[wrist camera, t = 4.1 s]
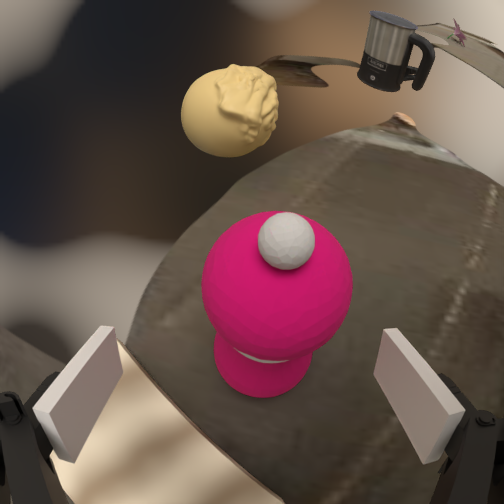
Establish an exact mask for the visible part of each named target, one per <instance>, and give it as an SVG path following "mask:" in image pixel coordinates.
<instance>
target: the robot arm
mask: <svg viewBox="0 0 504 504" xmlns="http://www.w3.org/2000/svg"><path fill="white" fill-rule="evenodd" d="M122 374H123V368H122V364H121V359H120V354H119V350H118V344H117V339H116V334H115V328H114V327H109V326H100V327H99V328H98V329H97V330H96V332H95V333H94V334H93V335H92V336H91V337H90V338H89V340H88V341H87V342H86V343H85V345H84V346H83V347H82V348H81V349H80V350H79V351H78V353H77V354H76V355H75V356H74V358H73V359H72V360H71V361H70V362H69V363H68V364H67V366H66V367H65V368H64V369H63V371H62V372H61V373H60V372H54V373H53V374H51V375H49V376H48V377H47V378H46V379H45V380H44V381H43V382H42V383H41V385H40V386H39V387H38V388H37V389H36V390H37V391H35V392H34V393H33V394H32V395H31V397H30V398H29V399H28V400H27V402H26V403H25V404H24V405H23V404H22V402H21V400H20V398H19V395H17V394H16V393H14V392H10V391H9V392H2V393H0V504H10V495H11V497H12V501H13V504H69V503H68V501H67V498H66V496H65V493H64V491H63V488H62V486H61V483H60V481H59V478H58V475H57V472H56V470H55V467H54V464H53V461H52V459H51V457H50V454H51V452H52V451H53V450H54V452H55V453H56V455H57V457H58V459H61V460H64V461H67V462H70V463H73V464H75V462H76V460H77V458H78V456H79V454H80V452H81V450H82V448H83V446H84V444H85V442H86V440H87V439H88V437H89V435H90V433H91V431H92V429H93V427H94V425H95V423H96V421H97V420H98V418H99V416H100V414H101V412H102V410H103V408H104V407H105V405H106V403H107V401H108V399H109V397H110V396H111V394H112V392H113V390H114V388H115V387H116V385H117V383H118V381H119V380H120V378H121V376H122ZM373 375H374V376H375V378H376V380H377V382H378V383H379V385H380V387H381V389H382V390H383V392H384V394H385V396H386V397H387V399H388V401H389V403H390V405H391V406H392V408H393V410H394V412H395V414H396V415H397V417H398V419H399V421H400V423H401V424H402V426H403V428H404V430H405V432H406V434H407V435H408V437H409V439H410V441H411V443H412V445H413V447H414V449H415V450H416V452H417V454H418V456H419V458H420V460H421V462H422V464H423V465H424V464H427V463H430V462H434V461H437V460H439V458H440V457H441V455H442V453H443V452H444V450H445V451H446V453H447V455H448V457H447V459H446V461H445V462H444V464H443V465H442V467H441V468H440V470H439V471H438V473H441V475H440V478H439V481H438V483H437V486H436V489H435V491H434V494H433V497H432V499H431V502H430V504H486V502H488V504H504V418H501V419H497V418H496V417H495V415H493V414H492V413H491V412H488V411H485V410H478V411H477V410H476V408H475V407H474V406H473V405H472V404H471V402H470V401H469V400H468V399H467V398H466V396H465V395H464V394H463V393H461V391H460V389H459V388H458V387H456V385H455V384H454V382H453V381H452V380H451V379H450V378H448V377H447V376H445V375H443V374H442V373H441V374H436V373H435V372H434V371H433V370H432V368H431V367H430V366H429V365H428V364H427V362H426V361H425V360H424V359H423V358H422V357H421V355H420V354H419V353H418V352H417V351H416V350H415V348H414V347H413V346H412V345H411V344H410V343H409V341H408V340H407V339H406V338H405V337H404V336H403V335H402V333H401V332H400V331H399V330H398V329H397V328H392V329H383V334H382V339H381V343H380V348H379V353H378V357H377V361H376V365H375V369H374V374H373ZM441 471H442V472H441Z"/></svg>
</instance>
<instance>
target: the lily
mask: <svg viewBox="0 0 504 504" xmlns="http://www.w3.org/2000/svg"><path fill="white" fill-rule="evenodd" d="M454 22H455V26H456V29H455V27H453V29H454V30H455V32H454V34H452V35H456V36H457V37H458V38H459V40H460V42H462V43H463V45H464V42H463V40H467V39H466V37H465V35H464V34H463V32H461V31H460V27H459V25H457V23H456V21H455V19H454ZM452 35H450V36H452ZM450 36H449V37H450ZM449 37H448V38H449ZM464 47H465V46H464Z"/></svg>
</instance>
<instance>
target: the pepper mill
mask: <svg viewBox="0 0 504 504" xmlns="http://www.w3.org/2000/svg"><path fill="white" fill-rule="evenodd" d="M201 286H202V298H203V303H204V307H205V310H206V313H207V315H208V317H209V320H210V321H211V323H212V325H213V326H214V328H215V330H216V331H217V333H216V336H215V341H214V356H215V362H216V365H217V368H218V371H219V372H220V374H221V376H222V377H223V379H224V380H225V381H226V382H227V383H228V384H229V385H230V386H231V387H232V388H234V389H235V390H237V391H239V392H240V393H242V394H245V395H248V396H251V397H258V398H268V397H274V396H278V395H281V394H283V393H285V392H287V391H289V390H290V389H292V388H293V387H294V386H296V385H297V384H298V383H299V382H300V381H301V379H302V378H303V376H304V375H305V373H306V371H307V369H308V367H309V365H310V362H311V359H312V353H313V351H315V350H317V349H318V348H320V347H321V346H323V345H324V344H325V343H326V342H328V341H329V340H330V339H331V338H332V337H333V335H334V334H335V333H336V331H337V330H338V329H339V327H340V326H341V324H342V322H343V320H344V318H345V316H346V314H347V312H348V309H349V305H350V302H351V296H352V289H353V282H352V272H351V268H350V264H349V260H348V258H347V256H346V254H345V251H344V249H343V248H342V246H341V245H340V244H339V242H338V241H337V239H336V238H335V237H334V236H333V235H332V234H331V233H330V232H329V231H328V230H327V229H326V228H324V227H323V226H321V225H320V224H319V223H317V222H316V221H314V220H312V219H309V218H307V217H305V216H302V215H299V214H296V213H292V212H283V211H270V212H261V213H258V214H255V215H252V216H249V217H247V218H244V219H242V220H240V221H238V222H237V223H235V224H234V225H232V226H231V227H230V228H229V229H228V230H227V231H225V232H224V233H223V234H222V235H221V236H220V237H219V239H218V240H217V241H216V242H215V244H214V245H213V247H212V249H211V251H210V252H209V254H208V256H207V259H206V262H205V265H204V269H203V275H202V283H201Z"/></svg>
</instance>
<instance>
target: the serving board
mask: <svg viewBox="0 0 504 504" xmlns="http://www.w3.org/2000/svg"><path fill="white" fill-rule="evenodd" d="M116 339H117V338H116ZM117 344H118V350H119V354H120V359H121V364H122V368H123V374H122V376H121V378H120V380H119V381H118V383H117V385H116V387H115V388H114V390H113V392H112V394H111V396H110V397H109V399H108V401H107V403H106V405H105V407H104V408H103V410H102V412H101V414H100V416H99V418H98V420H97V421H96V423H95V425H94V427H93V429H92V431H91V433H90V435H89V437H88V439H87V440H86V442H85V444H84V446H83V448H82V450H81V452H80V454H79V456H78V458H77V460H76V462H75V464H73V463H70V462H67V461H64V460H61V459H58V457H57V455H56V453H55V452H54V450H53V451H52V452H51V454H50V457H51V459H52V461H53V464H54V467H55V470H56V472H57V475H58V478H59V481H60V483H61V486H62V488H63V489H64V491H65V492H66V493H67V494H68V496H69V497H70V498H71V499H72V500H73V502H74V503H75V504H284V502H283V500H282V498H280V497H279V496H278V495H276V494H275V493H274V492H272V491H271V490H270V489H269V488H267V487H266V486H265V485H263V484H262V483H261V482H260V481H258V480H257V479H256V478H255V477H253V476H252V475H251V474H250V473H249V472H247V471H246V470H245V469H244V468H243V467H241V466H240V465H239V464H238V463H237V462H236V461H234V460H233V459H232V458H231V457H230V456H229V455H228V454H226V453H225V452H224V451H223V450H222V449H221V448H220V447H219V446H218V445H216V444H215V443H214V442H213V441H212V440H211V439H210V438H209V437H208V436H207V435H206V434H205V433H204V432H203V431H202V430H201V429H200V428H199V427H198V426H196V425H195V424H194V423H193V422H192V421H191V420H190V419H189V418H188V417H187V416H186V414H185V413H184V412H183V411H182V410H181V409H180V408H179V407H178V406H177V405H176V404H175V403H174V402H173V401H172V400H171V399H170V398H169V397H168V396H167V395H166V393H165V392H164V391H163V390H162V389H161V388H160V387H159V386H158V385H157V383H156V382H155V381H154V380H153V379H152V378H151V377H150V376H149V374H148V373H147V372H146V371H145V370H144V369H143V367H142V366H141V365H140V364H139V363H138V361H137V360H136V359H135V358H134V357H133V355H132V354H131V353H130V352H129V350H128V349H127V348H126V347H125V345H124V344H123V343H122V342H121V341H120V340H118V339H117Z"/></svg>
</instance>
